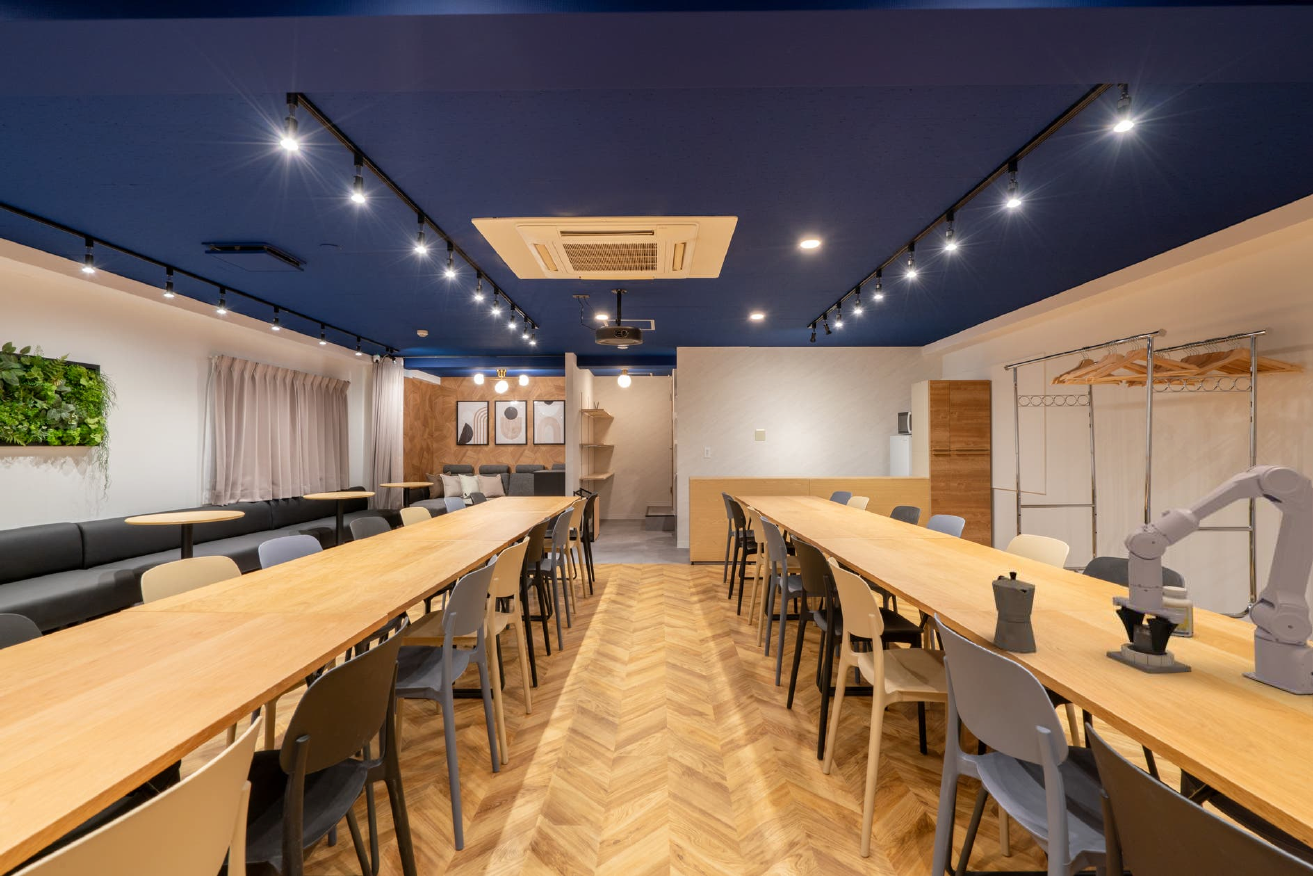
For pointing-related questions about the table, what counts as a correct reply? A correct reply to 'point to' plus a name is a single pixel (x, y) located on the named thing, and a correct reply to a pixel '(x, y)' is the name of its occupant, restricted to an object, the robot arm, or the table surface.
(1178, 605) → the pill bottle
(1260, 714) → the table surface
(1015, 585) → the coffeepot
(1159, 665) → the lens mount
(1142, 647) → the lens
